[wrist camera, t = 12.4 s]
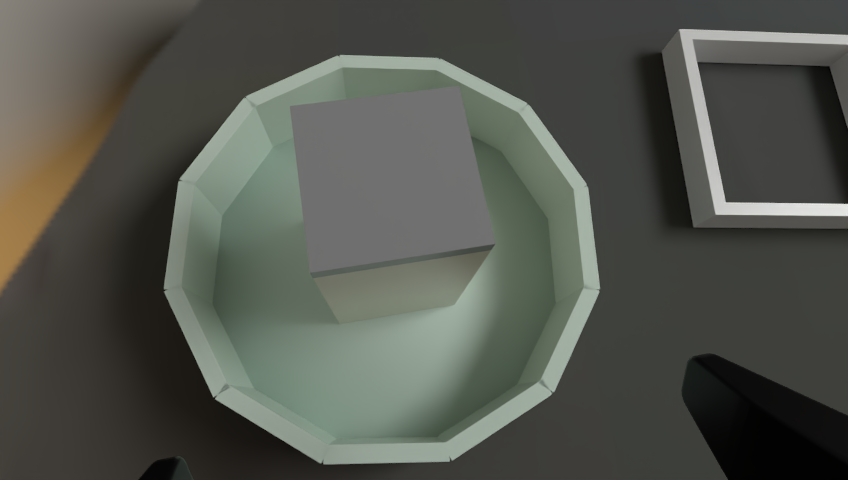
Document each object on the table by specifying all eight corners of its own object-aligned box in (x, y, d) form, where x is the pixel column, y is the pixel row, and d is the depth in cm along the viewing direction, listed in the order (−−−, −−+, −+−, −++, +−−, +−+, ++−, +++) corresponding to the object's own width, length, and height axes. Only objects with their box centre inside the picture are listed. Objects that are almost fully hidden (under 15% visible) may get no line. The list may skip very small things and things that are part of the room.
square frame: (888, 229, 26) (923, 216, 24) (693, 227, 25) (715, 214, 24) (836, 57, 29) (864, 35, 27) (661, 51, 28) (679, 29, 27)
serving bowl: (576, 447, 22) (619, 457, 18) (187, 456, 21) (138, 469, 17) (544, 114, 27) (572, 62, 23) (226, 107, 26) (196, 50, 22)
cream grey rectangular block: (454, 304, 23) (495, 244, 14) (339, 324, 22) (309, 273, 13) (433, 199, 24) (459, 86, 16) (325, 214, 23) (289, 106, 15)
